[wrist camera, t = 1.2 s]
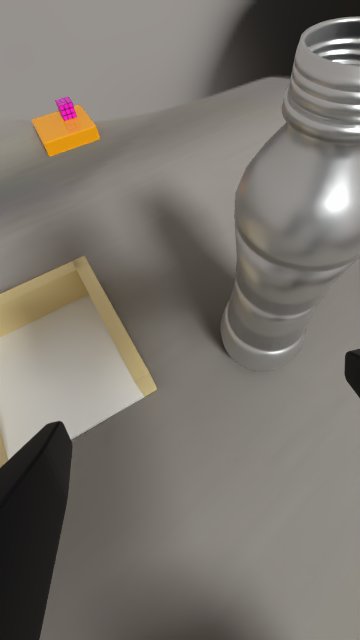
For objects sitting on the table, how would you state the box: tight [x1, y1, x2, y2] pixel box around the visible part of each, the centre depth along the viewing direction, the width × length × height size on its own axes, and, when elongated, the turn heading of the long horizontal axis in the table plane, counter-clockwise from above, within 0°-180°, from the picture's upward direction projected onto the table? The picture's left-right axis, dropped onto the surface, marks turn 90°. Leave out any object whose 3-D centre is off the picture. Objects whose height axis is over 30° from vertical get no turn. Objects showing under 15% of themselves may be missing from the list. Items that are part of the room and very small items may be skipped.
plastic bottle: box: [220, 17, 360, 372], centre depth 17 cm, size 6×7×20 cm
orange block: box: [31, 97, 100, 156], centre depth 44 cm, size 8×8×4 cm
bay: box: [0, 256, 157, 467], centre depth 24 cm, size 13×13×4 cm
